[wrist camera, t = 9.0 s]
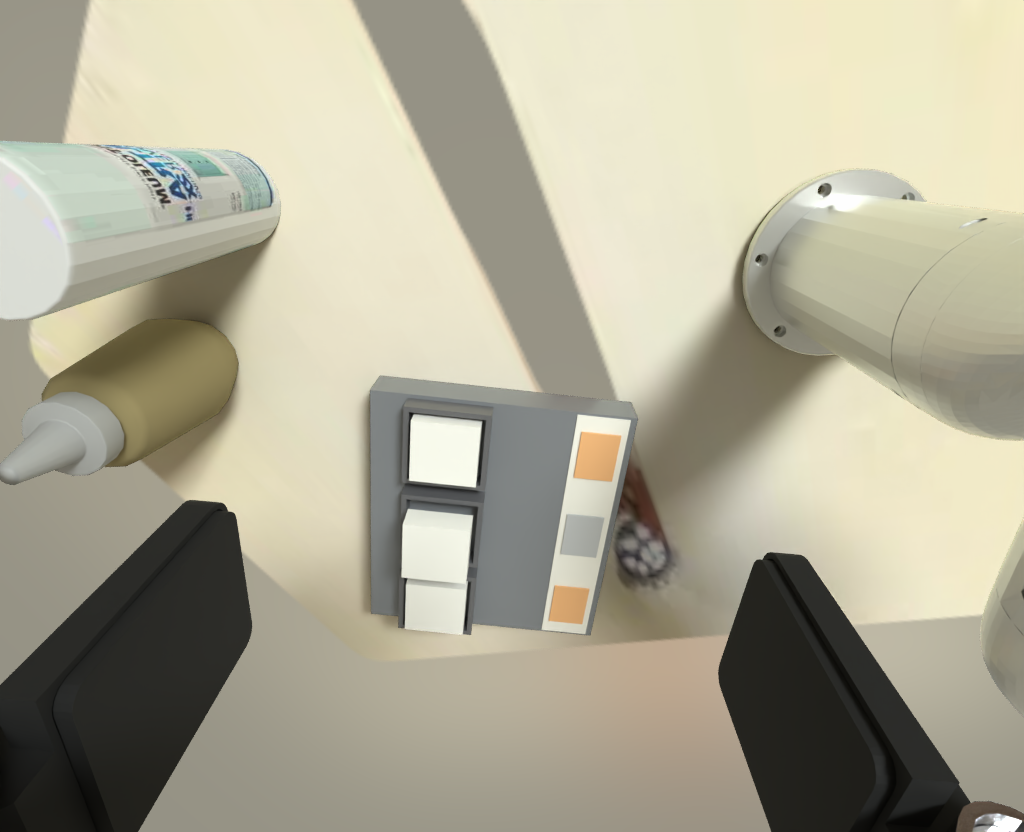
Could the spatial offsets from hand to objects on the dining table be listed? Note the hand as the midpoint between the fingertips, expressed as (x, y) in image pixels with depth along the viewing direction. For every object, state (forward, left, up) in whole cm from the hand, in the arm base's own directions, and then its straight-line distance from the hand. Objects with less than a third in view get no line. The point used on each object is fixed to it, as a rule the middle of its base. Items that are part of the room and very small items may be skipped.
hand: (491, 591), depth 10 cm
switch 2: (+4, +21, -28) cm, 35 cm away
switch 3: (+4, +28, -30) cm, 41 cm away
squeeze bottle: (+24, +10, -33) cm, 42 cm away
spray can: (+20, -2, -33) cm, 39 cm away
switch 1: (+4, +13, -30) cm, 33 cm away
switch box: (0, +21, -33) cm, 39 cm away
